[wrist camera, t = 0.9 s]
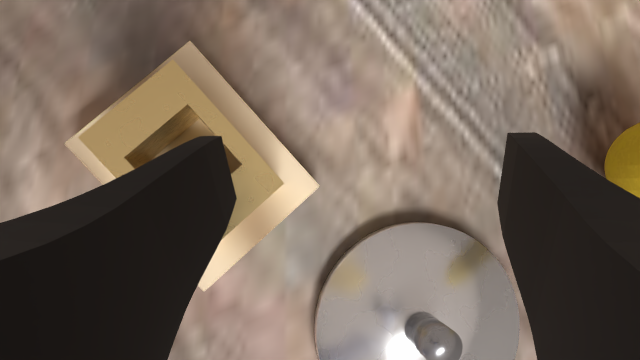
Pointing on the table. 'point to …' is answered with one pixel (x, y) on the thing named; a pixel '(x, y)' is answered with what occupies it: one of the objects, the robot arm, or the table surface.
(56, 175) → the table surface
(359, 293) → the hub
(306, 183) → the stand
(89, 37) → the table surface
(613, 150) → the lemon
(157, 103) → the gold open box
